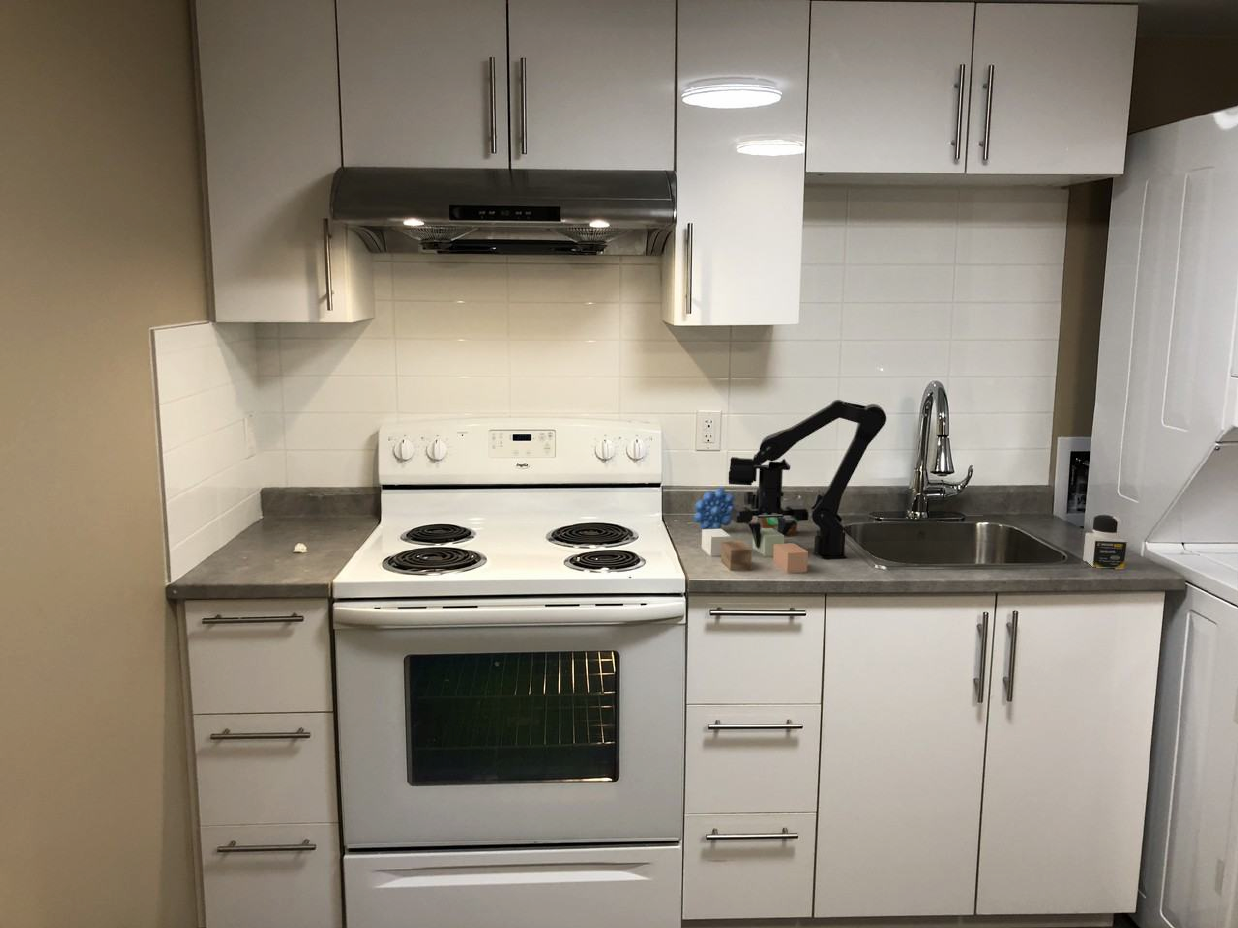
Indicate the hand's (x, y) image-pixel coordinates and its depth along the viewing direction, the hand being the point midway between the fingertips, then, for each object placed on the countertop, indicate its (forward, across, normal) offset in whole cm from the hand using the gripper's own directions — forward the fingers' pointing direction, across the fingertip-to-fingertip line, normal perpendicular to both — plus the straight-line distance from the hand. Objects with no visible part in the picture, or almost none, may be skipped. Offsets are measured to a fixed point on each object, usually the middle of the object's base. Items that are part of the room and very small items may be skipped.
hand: (768, 547), depth 246 cm
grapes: (+1, +7, -23) cm, 24 cm away
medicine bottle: (+1, -76, +25) cm, 80 cm away
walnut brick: (+1, +12, +11) cm, 16 cm away
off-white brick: (+1, +13, -2) cm, 13 cm away
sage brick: (+1, 0, 0) cm, 1 cm away
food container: (+1, -10, -16) cm, 19 cm away
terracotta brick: (+1, 0, +15) cm, 15 cm away
